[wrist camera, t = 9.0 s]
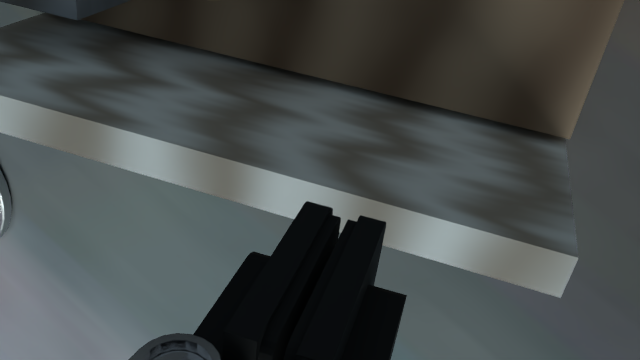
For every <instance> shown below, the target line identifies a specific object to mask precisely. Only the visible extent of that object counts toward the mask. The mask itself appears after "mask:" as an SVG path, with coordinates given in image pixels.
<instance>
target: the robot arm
mask: <svg viewBox="0 0 640 360" xmlns="http://www.w3.org/2000/svg"><path fill="white" fill-rule="evenodd" d="M11 213H12V205H11V196H10V193H9V189H8V186H7V183H6V180H5V178H4V176H3V174H2V172H1V170H0V237H1V236H2V235H3V234H4V233H5V232H6V230H7V229H8V226H9V224H10V221H11ZM340 223H341V218H340V217H338V216H334V215H333V208H331V207H328V206H324V205H320V204H316V203H312V202H309V201H306V202H305V203H304V205H303V206H302V208H301V210H300V211H299V213H298V214H297V216H296V217H295V219H294V221H293V222H292V224H291V225H290V227H289V228H288V230H287V232H286V233H285V235H284V236H283V238H282V240H281V241H280V243H279V244H278V246H277V247H276V249H275V251H274V252H273V254H272V255H271V256H267V255H264V254H260V253H257V252H252V253H250V254H249V255H248V256H247V258H246V259H245V261H244V262H243V263H242V265H241V266H240V268H239V269H238V271H237V272H236V274H235V275H234V276H233V278H232V279H231V281H230V282H229V284H228V285H227V287H226V288H225V289H224V291H223V292H222V294H221V295H220V297H219V298H218V300H217V301H216V303H215V304H214V305H213V307H212V308H211V310H210V311H209V313H208V314H207V316H206V317H205V318H204V320H203V321H202V323H201V324H200V326H199V327H198V329H197V330H196V331H195V333H194V334H193V335H192V334H180V333H176V334H169V335H163V336H161V337H158V338H156V339H153V340H151V341H149V342H148V343H147V344H145V345H144V346H143V347H141V348H140V349H139V350H138V351H137V352H136V353H135V354H134V355H133V356H132V357H131V358H130V359H129V360H390V359H391V356H392V352H393V348H394V344H395V340H396V336H397V332H398V328H399V324H400V320H401V316H402V312H403V308H404V304H405V300H406V296H407V295H403V294H400V293H396V292H393V291H389V290H386V289H382V288H379V287H375V286H374V282H375V277H376V272H377V268H378V263H379V258H380V253H381V249H382V244H383V239H384V234H385V229H386V222H384V221H381V220H377V219H373V218H369V217H365V216H362V215H360V216H359V218H358V220H357V221H353V220H349V219H348V220H347V222H346V224H345V226H344V228H343V230H342V232H341V235H340V237H339V239H338V236H339V229H340Z"/></svg>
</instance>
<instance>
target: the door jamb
mask: <svg viewBox="0 0 640 360" xmlns="http://www.w3.org/2000/svg"><path fill="white" fill-rule="evenodd" d="M0 1H1V2H5V3H9V4H13V5H17V6H21V7H25V8H29V9H33V10H37V11H41V12H45V13H43V14H40V15H37V16H34V17H31V18H28V19H25V20H22V21H19V22H16V23H13V24H10V25H7V26H4V27H1V28H0V133H4V134H7V135H11V136H14V137H17V138H21V139H24V140H28V141H31V142H34V143H38V144H41V145H45V146H48V147H51V148H55V149H58V150H61V151H65V152H68V153H72V154H75V155H78V156H82V157H85V158H89V159H92V160H95V161H99V162H102V163H106V164H109V165H112V166H116V167H119V168H122V169H126V170H129V171H133V172H136V173H139V174H143V175H146V176H150V177H153V178H156V179H160V180H163V181H167V182H170V183H173V184H177V185H180V186H184V187H187V188H190V189H194V190H197V191H200V192H204V193H207V194H211V195H214V196H217V197H221V198H224V199H228V200H231V201H234V202H238V203H241V204H245V205H248V206H251V207H255V208H258V209H261V210H265V211H268V212H272V213H275V214H278V215H282V216H285V217H289V218H292V219H295V217H296V216H297V214H298V213H299V211H300V210H301V208H302V206H303V205H304V203H305V202H306V201H309V202H312V203H316V204H320V205H324V206H328V207H331V208H333V215H334V216H338V217H340V218H341V223H340V229H339V233H341V232H342V230H343V228H344V226H345V224H346V222H347V220H348V219H349V220H353V221H357V220H358V218H359V216H360V215H362V216H365V217H369V218H373V219H377V220H381V221H384V222H386V229H385V234H384V239H383V244H382V245H384V246H387V247H390V248H394V249H397V250H401V251H404V252H407V253H411V254H414V255H417V256H421V257H424V258H428V259H431V260H434V261H438V262H441V263H445V264H448V265H451V266H455V267H458V268H462V269H465V270H468V271H472V272H475V273H478V274H482V275H485V276H489V277H492V278H495V279H499V280H502V281H506V282H509V283H512V284H516V285H519V286H523V287H526V288H529V289H533V290H536V291H540V292H543V293H546V294H550V295H553V296H556V297H560V298H561V296H562V293H563V291H564V289H565V287H566V285H567V282H568V280H569V278H570V276H571V274H572V271H573V269H574V267H575V265H576V262H577V260H578V258H579V257H578V248H577V239H576V230H575V221H574V212H573V203H572V194H571V185H570V176H569V166H568V157H567V148H566V139H565V138H567V139H570V138H571V135H572V132H573V130H574V127H575V125H576V122H577V120H578V117H579V115H580V112H581V109H582V107H583V104H584V102H585V99H586V97H587V94H588V92H589V89H590V86H591V84H592V81H593V79H594V76H595V74H596V71H597V69H598V66H599V64H600V61H601V58H602V56H603V53H604V51H605V48H606V46H607V43H608V41H609V38H610V35H611V33H612V30H613V28H614V25H615V23H616V20H617V18H618V15H619V12H620V10H621V7H622V5H623V2H624V0H220V1H208V0H0Z"/></svg>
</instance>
